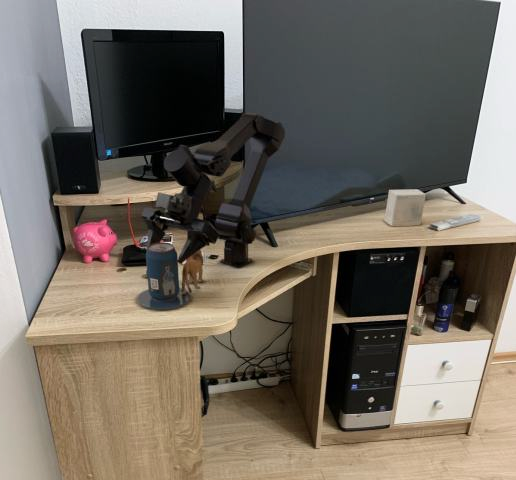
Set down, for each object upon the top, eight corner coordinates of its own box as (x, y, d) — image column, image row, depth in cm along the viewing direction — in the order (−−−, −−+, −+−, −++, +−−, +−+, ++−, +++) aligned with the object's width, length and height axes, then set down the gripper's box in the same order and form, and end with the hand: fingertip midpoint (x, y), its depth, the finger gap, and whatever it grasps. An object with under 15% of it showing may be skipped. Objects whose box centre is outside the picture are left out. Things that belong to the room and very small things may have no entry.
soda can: (161, 288, 129) (157, 239, 123) (185, 294, 126) (183, 244, 120) (143, 298, 123) (138, 248, 117) (168, 305, 121) (164, 254, 115)
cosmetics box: (391, 226, 176) (396, 194, 171) (383, 221, 182) (388, 189, 177) (421, 225, 178) (426, 193, 173) (412, 219, 184) (417, 188, 179)
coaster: (164, 284, 132) (164, 282, 132) (201, 297, 126) (200, 295, 126) (126, 300, 124) (126, 298, 124) (163, 315, 118) (163, 313, 117)
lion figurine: (183, 277, 137) (181, 242, 134) (204, 276, 138) (203, 241, 134) (180, 295, 124) (178, 257, 120) (203, 295, 124) (202, 257, 121)
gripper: (142, 171, 120) (111, 232, 118) (209, 183, 112) (177, 249, 109) (168, 199, 130) (140, 255, 128) (231, 212, 121) (202, 273, 119)
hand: (163, 258), depth 120 cm, fingers open, 9 cm apart
